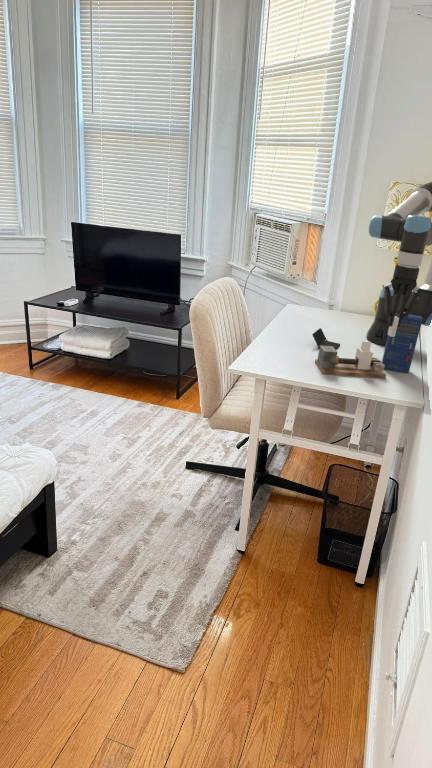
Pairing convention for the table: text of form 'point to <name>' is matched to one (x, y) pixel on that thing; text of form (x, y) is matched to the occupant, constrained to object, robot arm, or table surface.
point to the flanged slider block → (364, 355)
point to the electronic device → (402, 344)
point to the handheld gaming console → (323, 340)
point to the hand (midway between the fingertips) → (391, 335)
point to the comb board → (346, 365)
